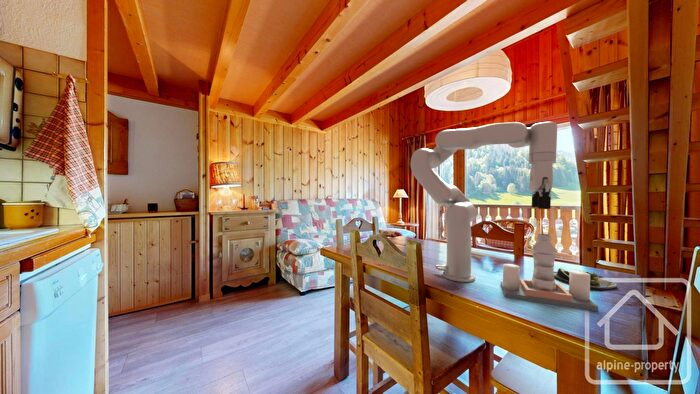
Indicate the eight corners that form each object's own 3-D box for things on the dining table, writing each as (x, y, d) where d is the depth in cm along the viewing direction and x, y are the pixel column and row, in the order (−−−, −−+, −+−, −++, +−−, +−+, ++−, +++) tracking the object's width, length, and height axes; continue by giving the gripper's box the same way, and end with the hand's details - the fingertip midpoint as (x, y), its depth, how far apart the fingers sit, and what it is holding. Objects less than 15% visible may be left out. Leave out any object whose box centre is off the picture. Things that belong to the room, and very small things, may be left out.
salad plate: (581, 274, 110) (581, 263, 110) (632, 289, 92) (632, 277, 92) (543, 275, 108) (543, 265, 108) (587, 292, 90) (587, 279, 90)
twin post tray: (505, 297, 85) (505, 269, 85) (500, 285, 96) (500, 260, 96) (598, 311, 75) (598, 280, 75) (581, 296, 86) (581, 269, 86)
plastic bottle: (548, 297, 81) (549, 236, 80) (526, 290, 87) (527, 233, 87) (560, 294, 83) (561, 235, 83) (538, 287, 90) (539, 232, 89)
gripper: (524, 162, 96) (522, 206, 96) (534, 156, 80) (532, 209, 81) (548, 161, 92) (546, 207, 93) (564, 155, 77) (562, 210, 77)
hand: (540, 207), depth 87 cm, fingers open, 9 cm apart
